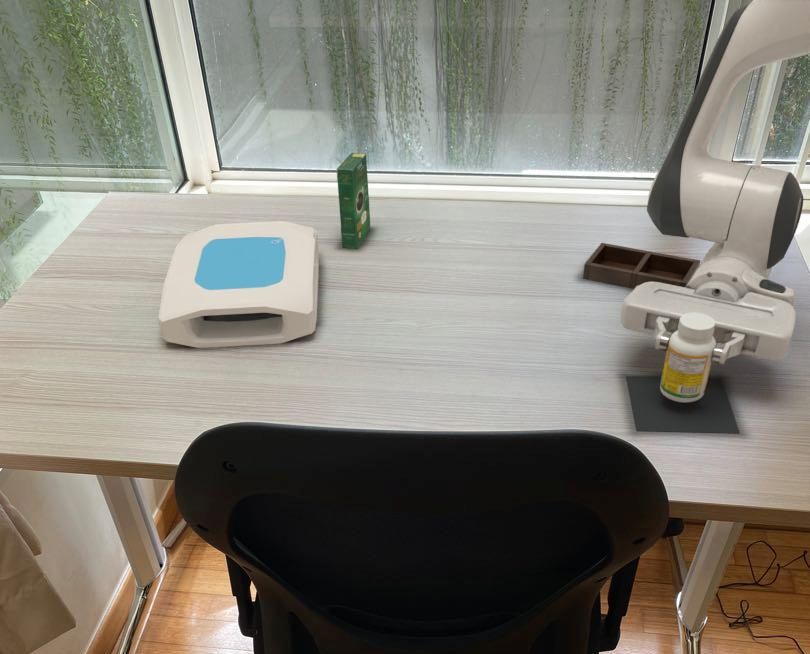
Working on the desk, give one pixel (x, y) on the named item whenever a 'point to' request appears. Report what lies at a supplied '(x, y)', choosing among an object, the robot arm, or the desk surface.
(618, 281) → the jar stand
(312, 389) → the desk surface
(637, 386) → the mat
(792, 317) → the robot arm
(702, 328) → the supplement bottle
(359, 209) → the coffee box
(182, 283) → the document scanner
